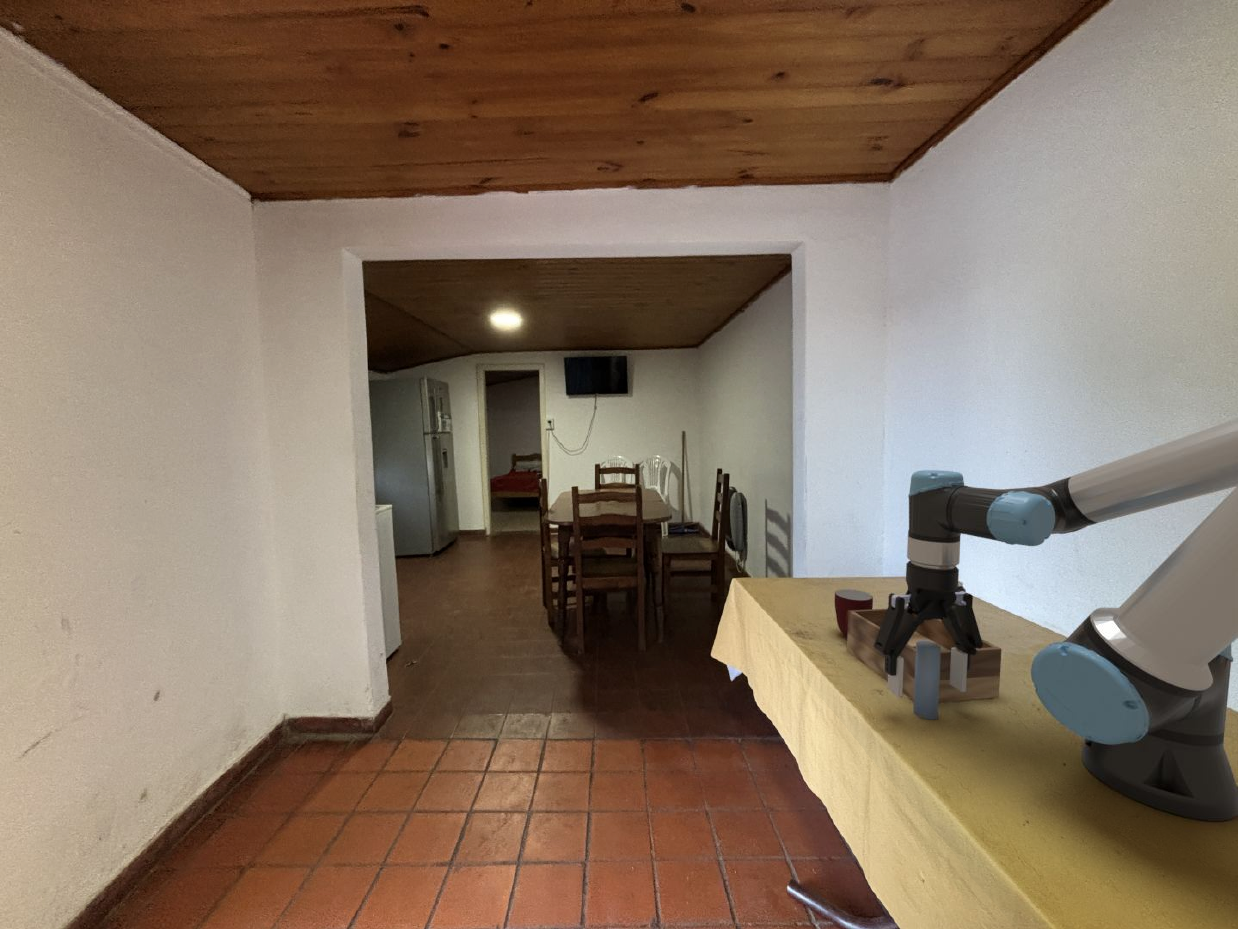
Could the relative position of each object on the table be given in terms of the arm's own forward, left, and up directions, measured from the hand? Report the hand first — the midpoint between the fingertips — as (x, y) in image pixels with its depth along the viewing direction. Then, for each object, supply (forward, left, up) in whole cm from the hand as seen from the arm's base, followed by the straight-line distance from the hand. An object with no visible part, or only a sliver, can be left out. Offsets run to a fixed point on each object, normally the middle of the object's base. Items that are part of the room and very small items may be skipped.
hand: (926, 690), depth 89 cm
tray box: (+14, -9, -4) cm, 17 cm away
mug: (+31, -6, -4) cm, 32 cm away
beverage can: (+32, -31, -4) cm, 45 cm away
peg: (0, 0, -4) cm, 4 cm away
